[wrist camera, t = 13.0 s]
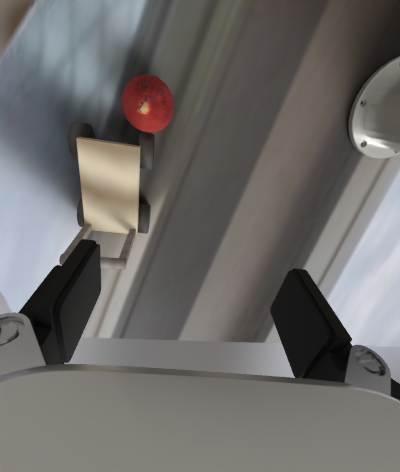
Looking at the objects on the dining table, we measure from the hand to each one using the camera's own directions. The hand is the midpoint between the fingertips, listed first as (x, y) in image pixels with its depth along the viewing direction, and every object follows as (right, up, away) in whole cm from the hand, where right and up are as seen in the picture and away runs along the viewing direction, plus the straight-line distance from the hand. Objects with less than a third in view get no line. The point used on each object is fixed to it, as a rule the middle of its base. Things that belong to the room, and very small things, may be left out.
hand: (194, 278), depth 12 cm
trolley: (-12, +11, +23) cm, 28 cm away
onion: (-6, +19, +19) cm, 27 cm away
